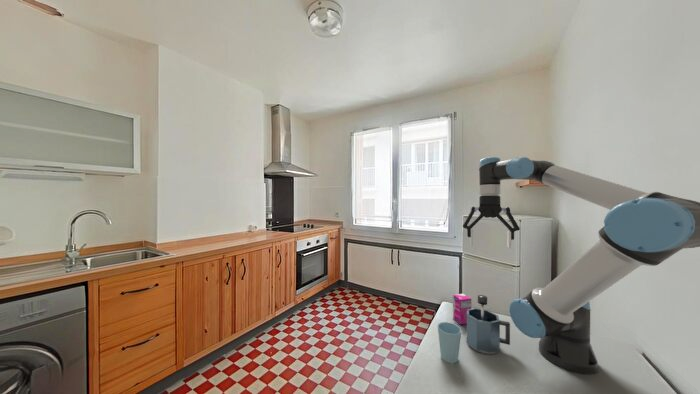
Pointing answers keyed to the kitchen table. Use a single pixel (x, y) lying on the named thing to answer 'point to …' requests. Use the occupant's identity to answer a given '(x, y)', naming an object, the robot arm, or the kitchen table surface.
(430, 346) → the kitchen table surface
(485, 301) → the plunger
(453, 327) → the cup
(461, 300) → the supplement box
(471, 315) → the press carafe
